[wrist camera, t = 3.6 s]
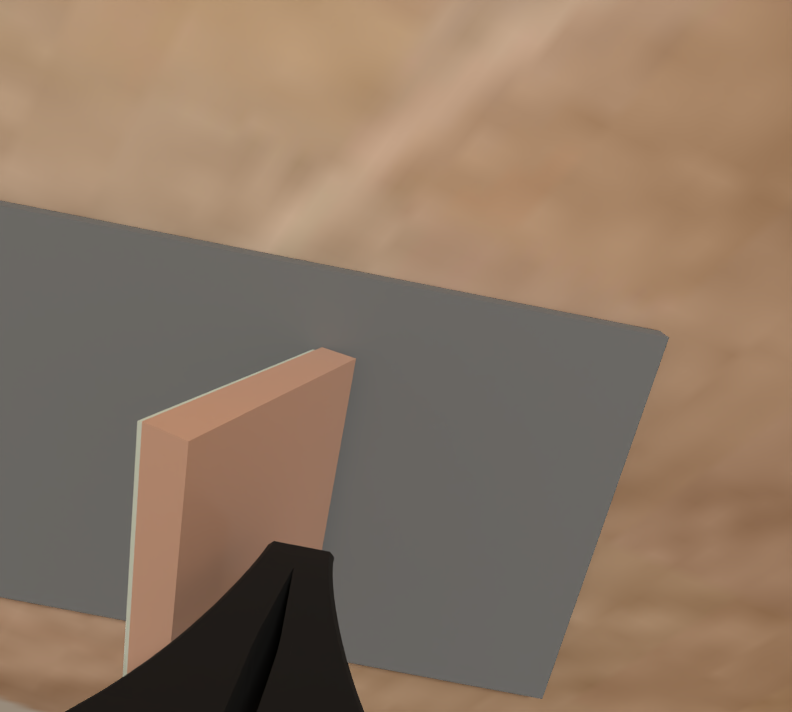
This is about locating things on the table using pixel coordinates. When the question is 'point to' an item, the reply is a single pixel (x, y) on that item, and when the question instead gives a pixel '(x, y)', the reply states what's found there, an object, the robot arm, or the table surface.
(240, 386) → the tile
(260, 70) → the table surface
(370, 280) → the mat
